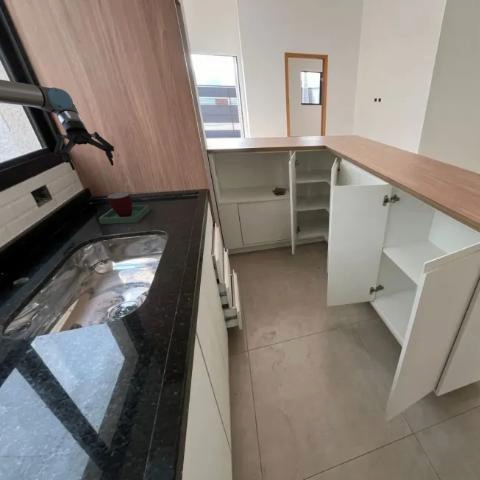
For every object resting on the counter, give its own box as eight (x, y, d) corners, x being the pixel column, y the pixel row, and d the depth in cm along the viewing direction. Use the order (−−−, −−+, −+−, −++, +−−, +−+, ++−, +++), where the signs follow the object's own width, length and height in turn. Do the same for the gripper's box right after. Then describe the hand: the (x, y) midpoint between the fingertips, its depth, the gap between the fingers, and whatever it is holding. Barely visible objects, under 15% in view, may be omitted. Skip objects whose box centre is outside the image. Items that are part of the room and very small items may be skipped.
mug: (118, 212, 124) (111, 191, 119) (138, 210, 127) (132, 190, 122) (113, 221, 116) (104, 199, 111) (134, 218, 118) (127, 197, 114)
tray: (100, 224, 114) (98, 218, 113) (117, 211, 127) (115, 206, 125) (137, 222, 116) (135, 217, 115) (150, 210, 129) (148, 205, 128)
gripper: (108, 129, 127) (127, 166, 125) (36, 133, 111) (57, 175, 109) (107, 118, 121) (126, 157, 119) (31, 120, 105) (52, 164, 103)
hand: (93, 166), depth 114 cm, fingers open, 13 cm apart
